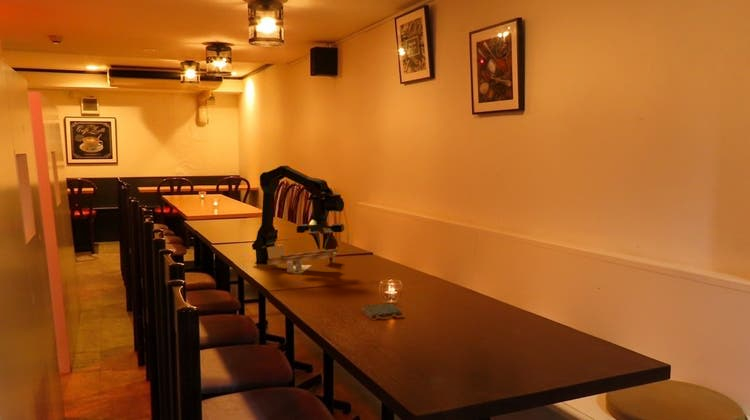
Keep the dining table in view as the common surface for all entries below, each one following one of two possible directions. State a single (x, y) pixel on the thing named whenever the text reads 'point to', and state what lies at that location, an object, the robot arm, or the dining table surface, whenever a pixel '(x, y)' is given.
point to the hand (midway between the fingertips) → (321, 249)
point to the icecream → (331, 244)
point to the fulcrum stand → (297, 267)
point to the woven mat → (382, 311)
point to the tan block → (275, 251)
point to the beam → (304, 256)
